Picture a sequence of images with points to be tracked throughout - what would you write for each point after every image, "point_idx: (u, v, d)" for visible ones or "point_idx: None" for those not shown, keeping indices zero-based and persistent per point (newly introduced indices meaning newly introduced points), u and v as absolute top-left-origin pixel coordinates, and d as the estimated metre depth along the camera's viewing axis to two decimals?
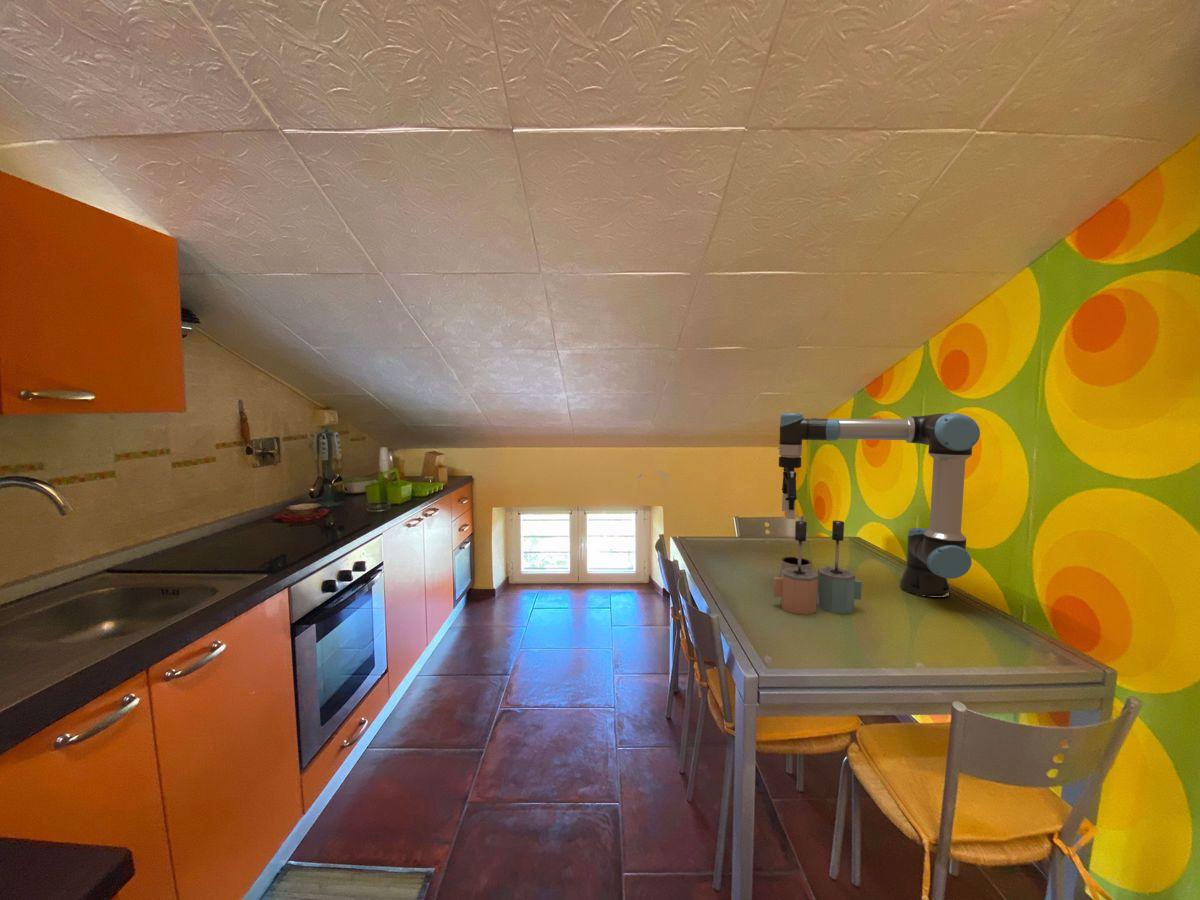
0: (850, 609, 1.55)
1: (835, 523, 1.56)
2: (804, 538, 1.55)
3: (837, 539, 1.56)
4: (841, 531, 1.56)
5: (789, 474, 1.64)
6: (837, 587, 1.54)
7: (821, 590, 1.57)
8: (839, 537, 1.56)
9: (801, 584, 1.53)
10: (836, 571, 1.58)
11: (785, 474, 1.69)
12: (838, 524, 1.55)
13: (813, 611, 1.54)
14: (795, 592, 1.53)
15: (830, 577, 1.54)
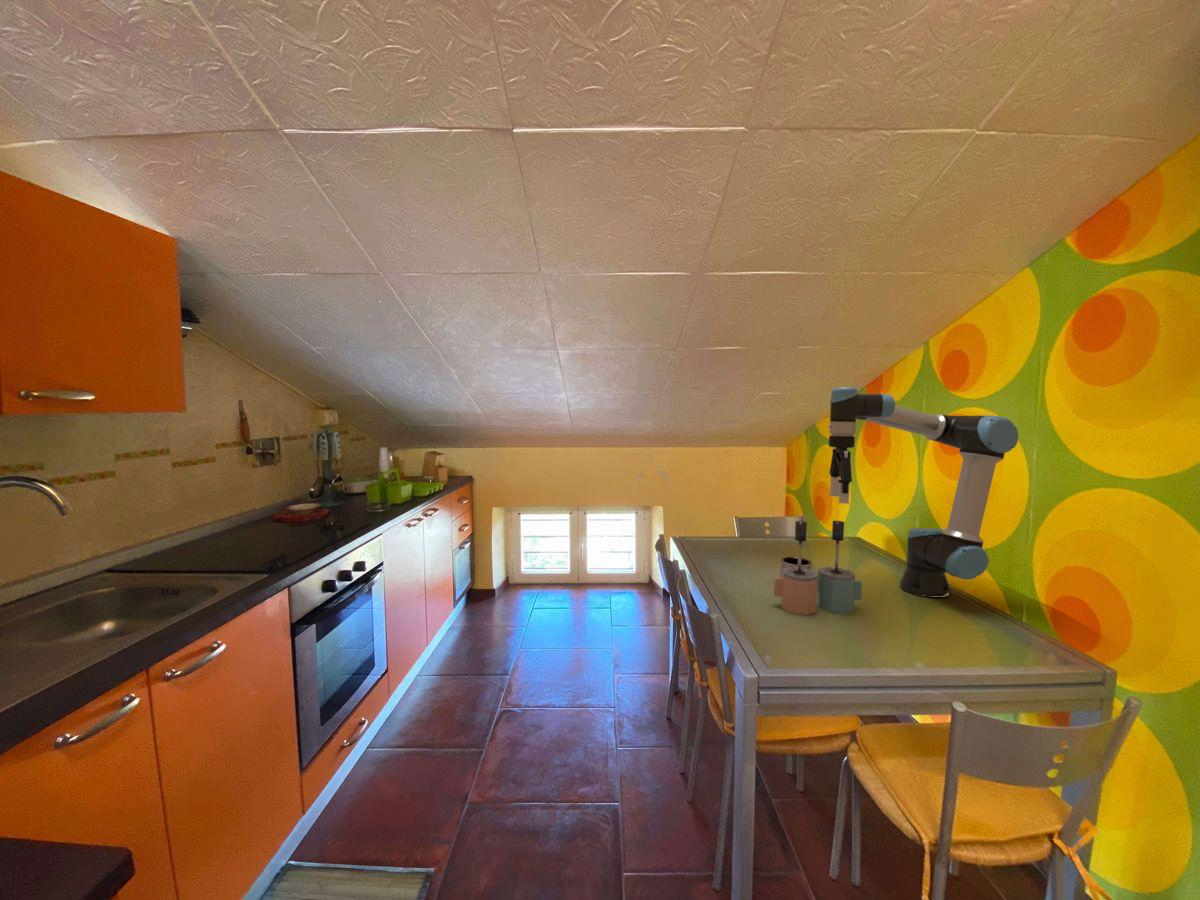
0: (850, 609, 1.55)
1: (835, 523, 1.56)
2: (804, 538, 1.55)
3: (837, 539, 1.56)
4: (841, 531, 1.56)
5: (843, 454, 1.49)
6: (837, 587, 1.54)
7: (821, 590, 1.57)
8: (839, 537, 1.56)
9: (801, 584, 1.53)
10: (836, 571, 1.58)
11: (837, 455, 1.54)
12: (838, 524, 1.55)
13: (813, 611, 1.54)
14: (795, 592, 1.53)
15: (830, 577, 1.54)
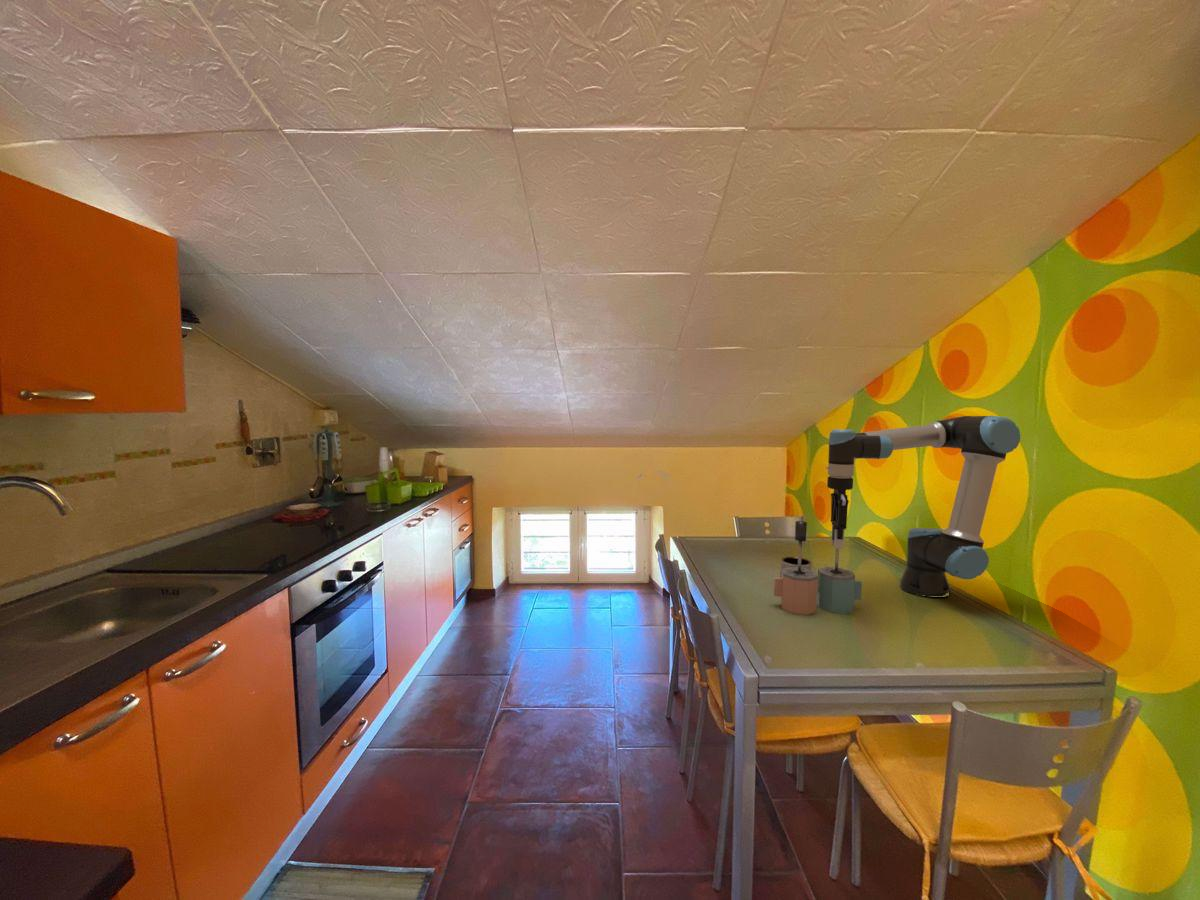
0: (850, 609, 1.55)
1: (835, 523, 1.56)
2: (804, 538, 1.55)
3: None
4: None
5: (840, 503, 1.50)
6: (837, 587, 1.54)
7: (821, 590, 1.57)
8: None
9: (801, 584, 1.53)
10: (836, 571, 1.58)
11: (835, 496, 1.55)
12: None
13: (813, 611, 1.54)
14: (795, 592, 1.53)
15: (830, 577, 1.54)
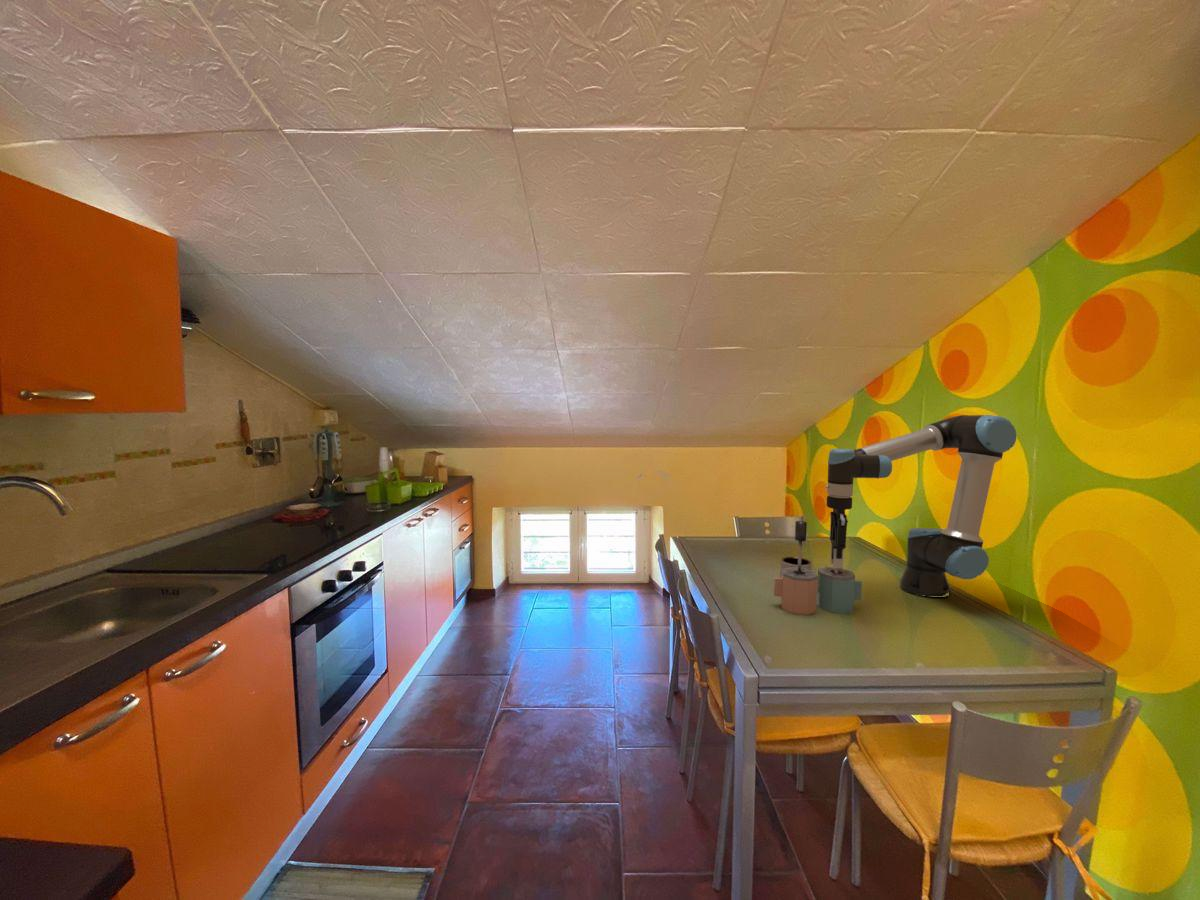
0: (850, 609, 1.55)
1: (834, 542, 1.57)
2: (804, 538, 1.55)
3: None
4: None
5: (840, 523, 1.51)
6: (837, 587, 1.54)
7: (821, 590, 1.57)
8: None
9: (801, 584, 1.53)
10: None
11: (834, 516, 1.55)
12: None
13: (813, 611, 1.54)
14: (795, 592, 1.53)
15: (830, 577, 1.54)
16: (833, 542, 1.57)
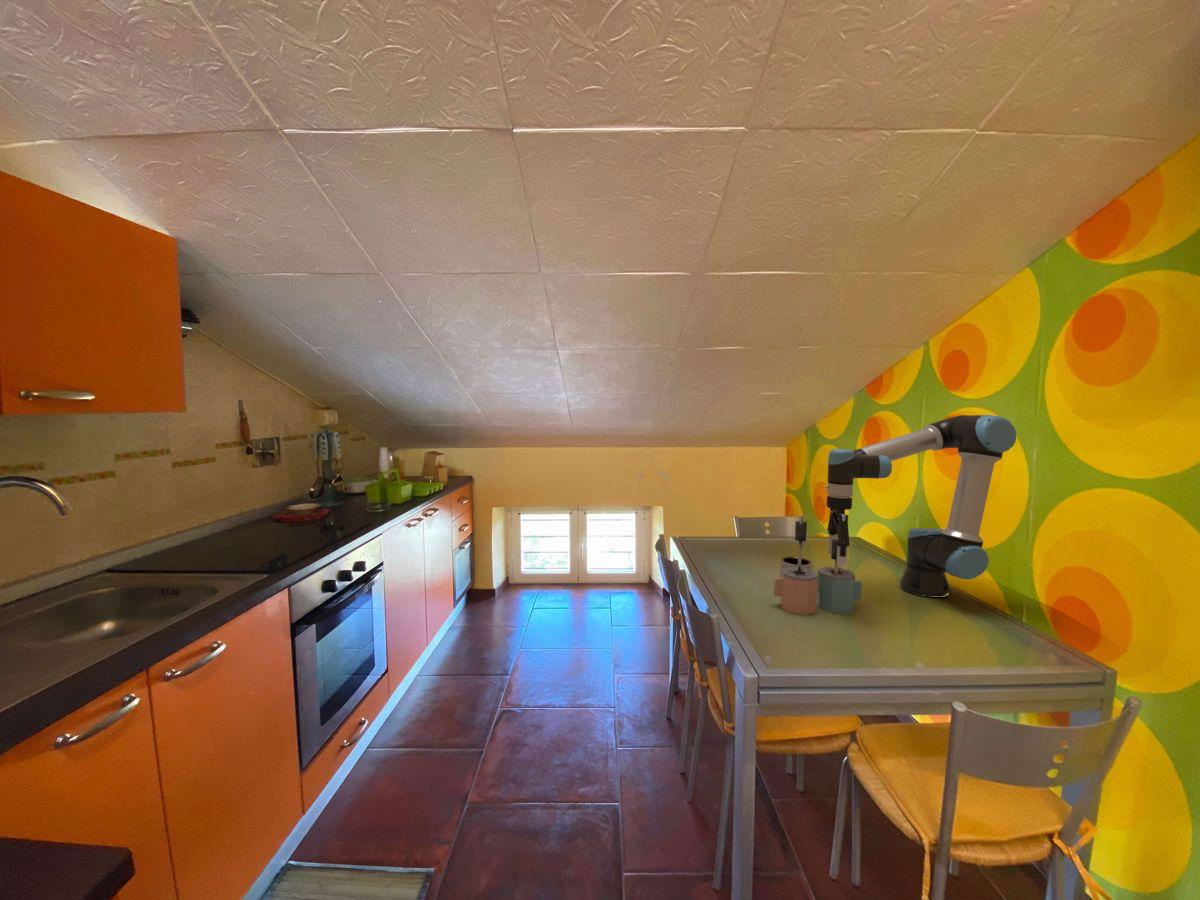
0: (850, 609, 1.55)
1: (834, 542, 1.57)
2: (804, 538, 1.55)
3: (836, 558, 1.56)
4: None
5: (840, 517, 1.50)
6: (837, 587, 1.54)
7: (821, 590, 1.57)
8: None
9: (801, 584, 1.53)
10: None
11: (834, 516, 1.55)
12: None
13: (813, 611, 1.54)
14: (795, 592, 1.53)
15: (830, 577, 1.54)
16: (833, 542, 1.57)
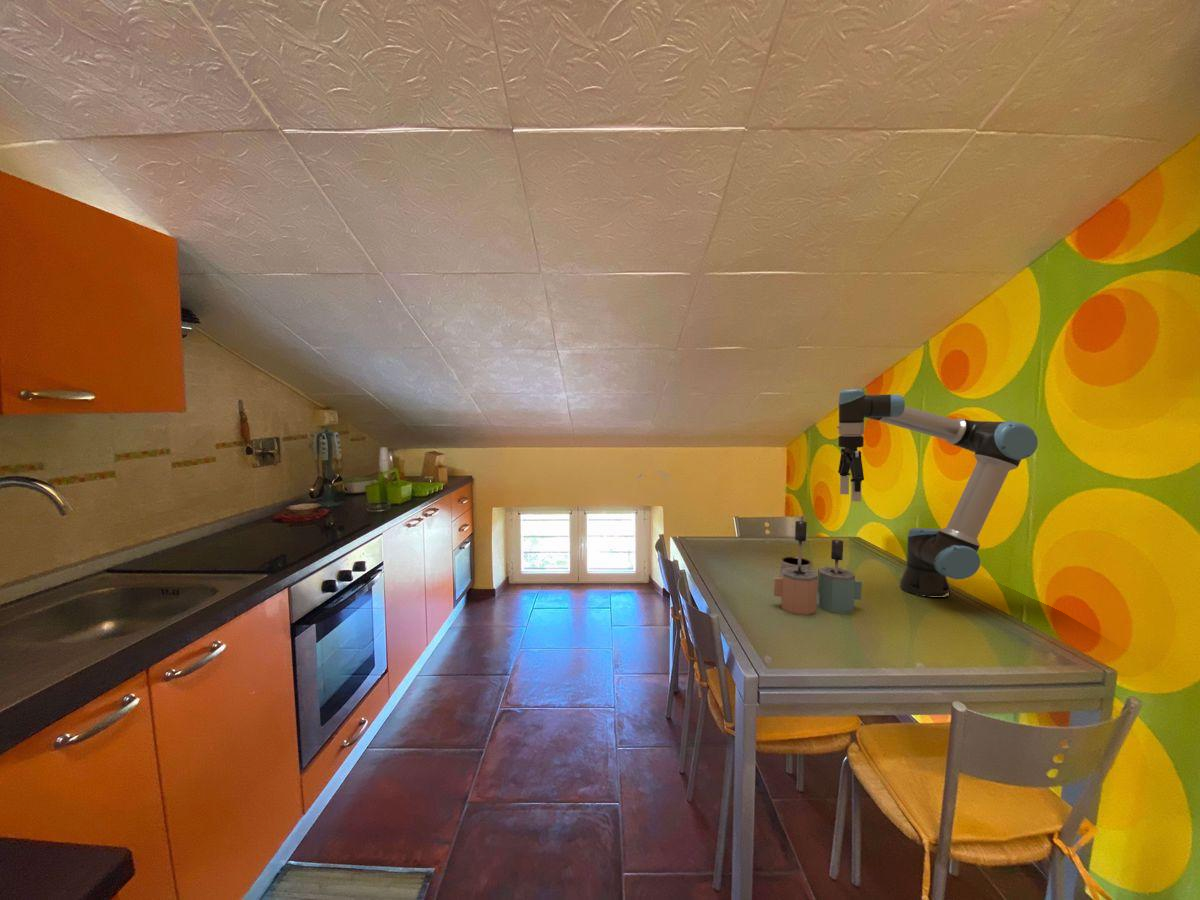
0: (850, 609, 1.55)
1: (834, 542, 1.57)
2: (804, 538, 1.55)
3: (836, 558, 1.56)
4: (840, 550, 1.56)
5: (854, 454, 1.55)
6: (837, 587, 1.54)
7: (821, 590, 1.57)
8: (838, 557, 1.56)
9: (801, 584, 1.53)
10: None
11: (847, 454, 1.60)
12: (837, 543, 1.56)
13: (813, 611, 1.54)
14: (795, 592, 1.53)
15: (830, 577, 1.54)
16: (833, 542, 1.57)
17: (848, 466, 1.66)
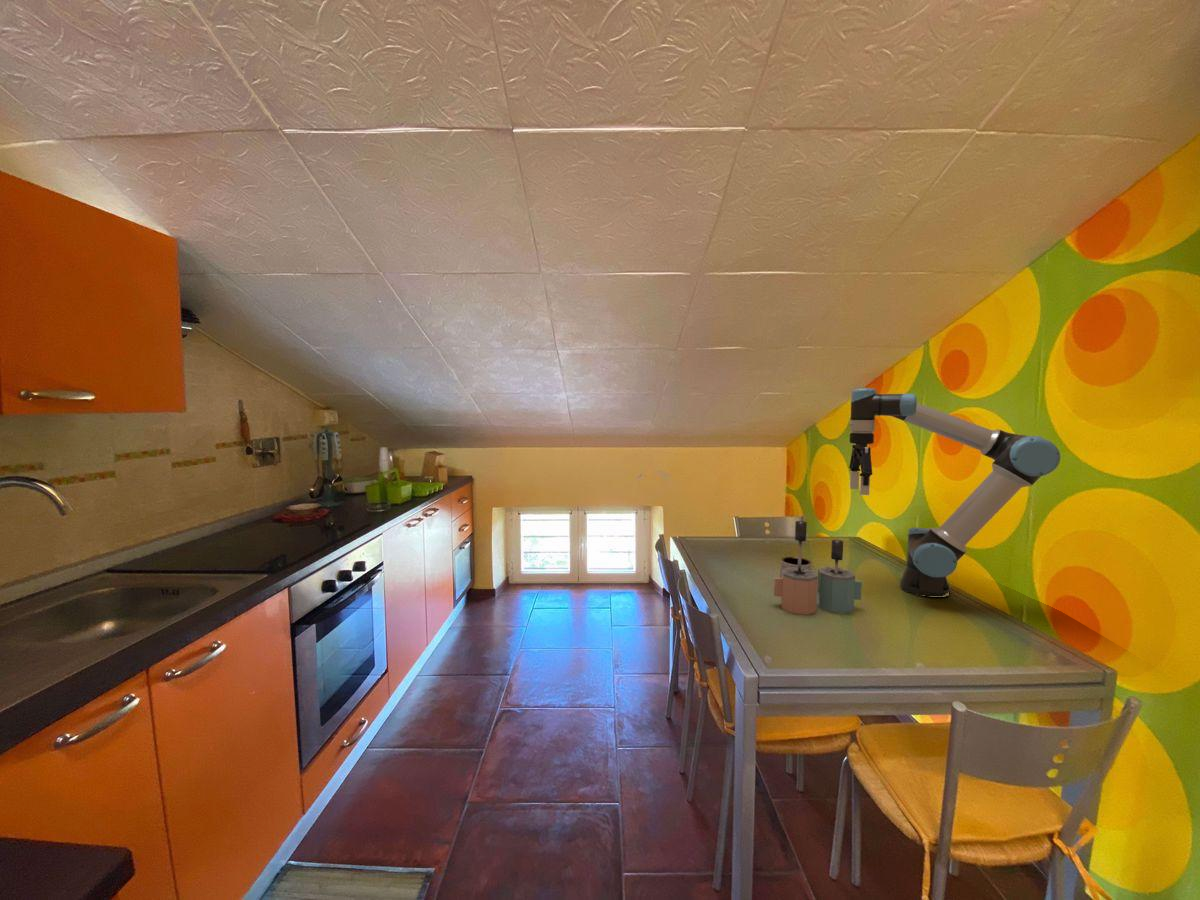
0: (850, 609, 1.55)
1: (834, 542, 1.57)
2: (804, 538, 1.55)
3: (836, 558, 1.56)
4: (840, 550, 1.56)
5: (863, 449, 1.63)
6: (837, 587, 1.54)
7: (821, 590, 1.57)
8: (838, 557, 1.56)
9: (801, 584, 1.53)
10: None
11: (857, 450, 1.67)
12: (837, 543, 1.56)
13: (813, 611, 1.54)
14: (795, 592, 1.53)
15: (830, 577, 1.54)
16: (833, 542, 1.57)
17: (858, 462, 1.73)
